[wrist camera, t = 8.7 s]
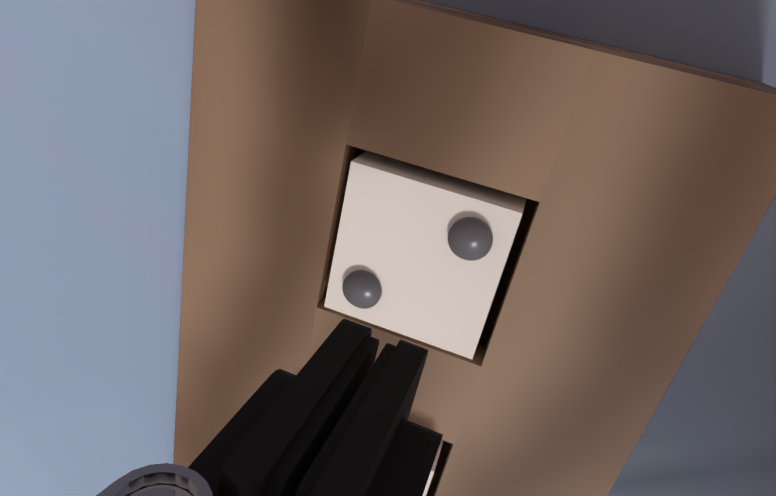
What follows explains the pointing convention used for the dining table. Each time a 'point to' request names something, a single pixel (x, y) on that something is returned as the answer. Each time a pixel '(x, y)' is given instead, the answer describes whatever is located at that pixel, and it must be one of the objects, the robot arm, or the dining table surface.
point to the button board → (482, 166)
